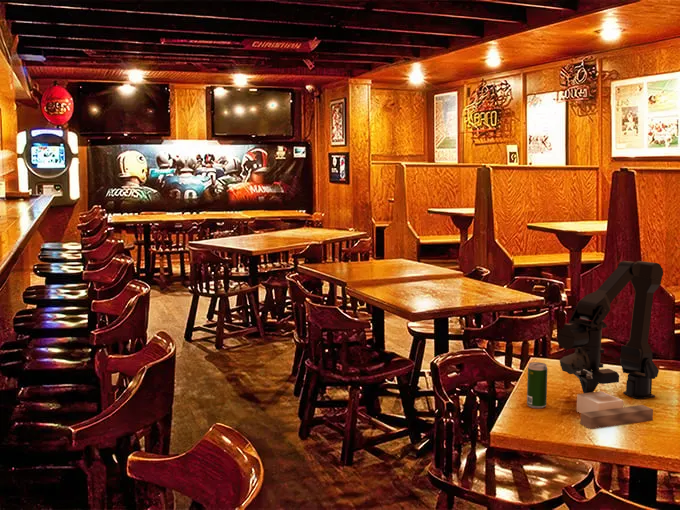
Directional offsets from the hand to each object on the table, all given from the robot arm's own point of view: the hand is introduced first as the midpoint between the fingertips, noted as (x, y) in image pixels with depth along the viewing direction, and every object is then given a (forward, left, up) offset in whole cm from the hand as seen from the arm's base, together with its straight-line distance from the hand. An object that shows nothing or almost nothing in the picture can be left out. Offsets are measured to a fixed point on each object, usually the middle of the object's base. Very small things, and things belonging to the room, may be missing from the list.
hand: (587, 399), depth 214 cm
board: (0, +12, -3) cm, 13 cm away
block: (0, +6, -3) cm, 6 cm away
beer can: (+12, -7, -3) cm, 14 cm away
